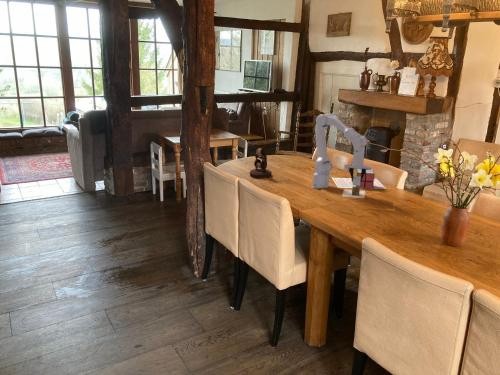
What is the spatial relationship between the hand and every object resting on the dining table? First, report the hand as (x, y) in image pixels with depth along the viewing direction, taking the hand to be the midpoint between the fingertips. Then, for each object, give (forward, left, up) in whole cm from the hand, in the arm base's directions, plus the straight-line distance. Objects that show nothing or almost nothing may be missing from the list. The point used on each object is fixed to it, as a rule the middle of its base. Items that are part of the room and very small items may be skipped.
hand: (356, 181), depth 233 cm
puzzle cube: (+4, +20, -8) cm, 22 cm away
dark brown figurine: (-63, +26, -8) cm, 69 cm away
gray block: (0, 0, -2) cm, 2 cm away
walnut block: (0, 0, -7) cm, 7 cm away
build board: (-1, +1, -8) cm, 8 cm away
